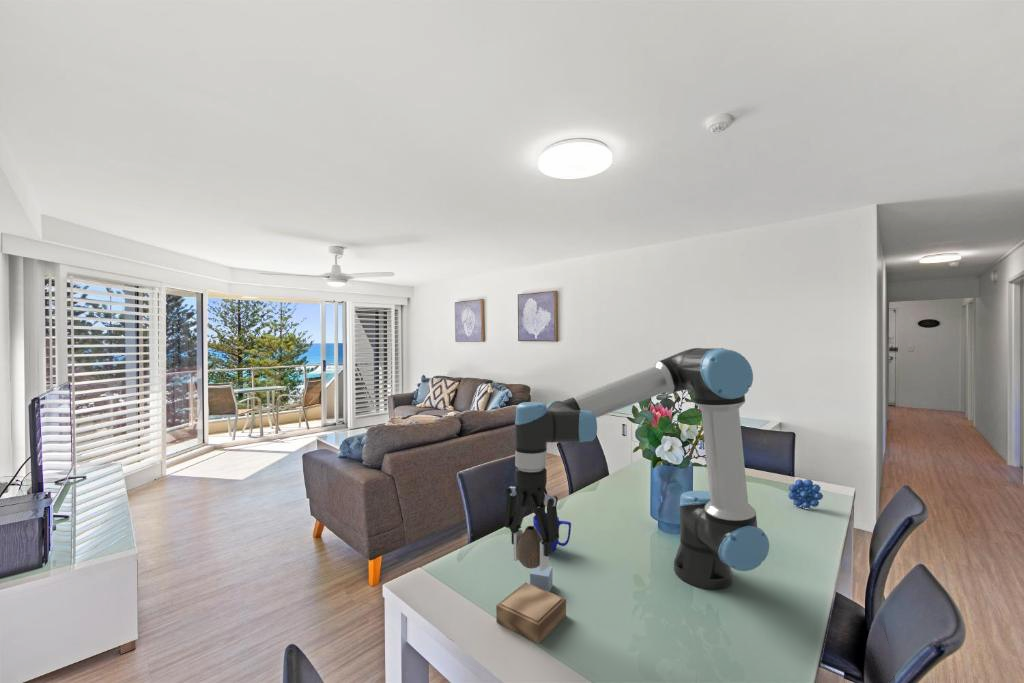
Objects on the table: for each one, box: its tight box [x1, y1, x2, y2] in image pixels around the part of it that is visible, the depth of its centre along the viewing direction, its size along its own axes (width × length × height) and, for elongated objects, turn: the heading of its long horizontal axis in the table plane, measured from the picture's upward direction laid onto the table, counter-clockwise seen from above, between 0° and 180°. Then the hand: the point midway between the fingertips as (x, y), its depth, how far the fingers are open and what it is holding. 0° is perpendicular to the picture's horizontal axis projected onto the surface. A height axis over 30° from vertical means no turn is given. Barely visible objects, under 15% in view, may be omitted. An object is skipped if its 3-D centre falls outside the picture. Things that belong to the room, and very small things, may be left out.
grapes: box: [787, 478, 824, 509], centre depth 169 cm, size 12×7×12 cm, turn 41°
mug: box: [532, 512, 572, 552], centre depth 137 cm, size 8×12×10 cm
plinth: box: [495, 582, 567, 644], centre depth 103 cm, size 12×12×4 cm
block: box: [529, 565, 554, 593], centre depth 115 cm, size 5×5×5 cm
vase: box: [517, 525, 543, 570], centre depth 103 cm, size 7×7×9 cm
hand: (531, 563), depth 103 cm, fingers closed on vase, 7 cm apart
